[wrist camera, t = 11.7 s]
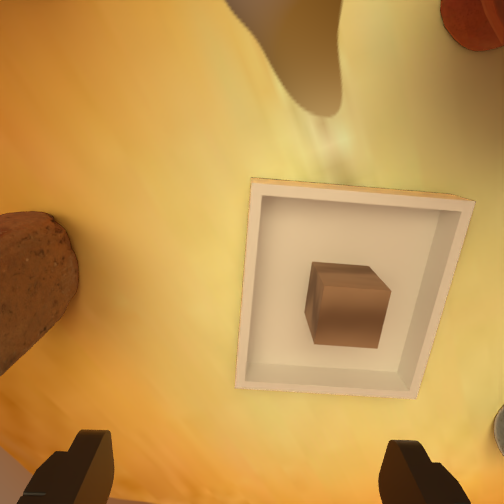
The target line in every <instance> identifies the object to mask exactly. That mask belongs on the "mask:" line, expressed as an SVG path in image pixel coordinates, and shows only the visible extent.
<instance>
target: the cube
mask: <svg viewBox="0 0 504 504" xmlns="http://www.w3.org/2000/svg"><path fill="white" fill-rule="evenodd" d="M390 295H391V290H390V289H389V288H388V286H387V285H386V284H385V283H384V282H383V281H382V280H381V279H380V278H379V277H378V276H377V274H376V273H375V272H374V271H373V270H372V269H371V268H370V267H369V266H363V265H350V264H337V263H325V262H312V265H311V272H310V278H309V285H308V291H307V298H306V304H305V310H304V313H305V317H306V320H307V323H308V326H309V329H310V333H311V336H312V339H313V342H314V344H317V345H331V346H345V347H360V348H374V349H378V344H379V340H380V336H381V332H382V328H383V324H384V320H385V316H386V312H387V308H388V304H389V299H390Z"/></svg>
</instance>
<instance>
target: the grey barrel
mask: <svg viewBox="0 0 504 504" xmlns="http://www.w3.org/2000/svg"><path fill="white" fill-rule="evenodd" d="M494 435H495V440H496V443H497V445H498V448H499V450H500V451H501V453H502V455H503V456H504V406H503V407H502V408H501V409H500V410H499V411H498V413H497V415H496V417H495V421H494Z"/></svg>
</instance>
